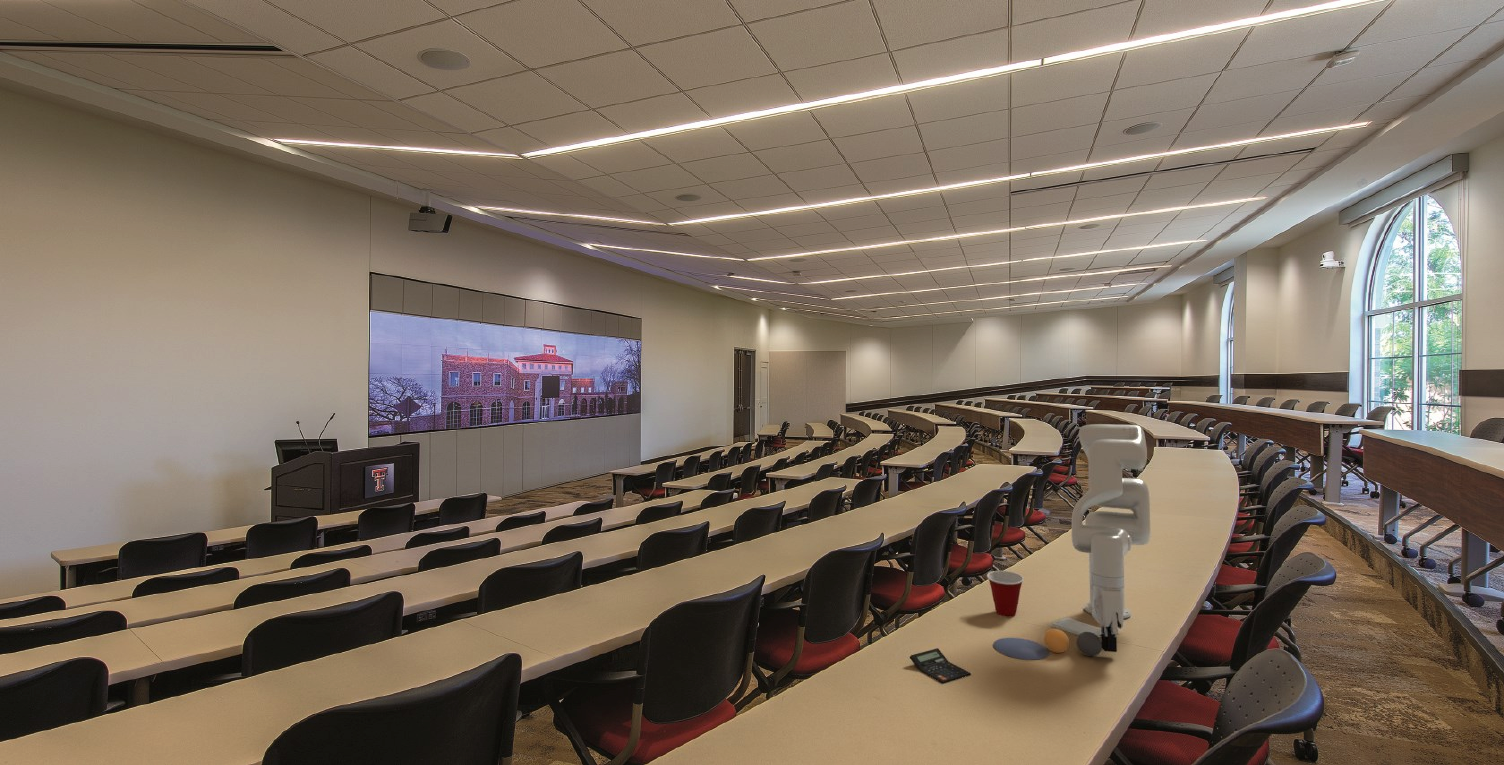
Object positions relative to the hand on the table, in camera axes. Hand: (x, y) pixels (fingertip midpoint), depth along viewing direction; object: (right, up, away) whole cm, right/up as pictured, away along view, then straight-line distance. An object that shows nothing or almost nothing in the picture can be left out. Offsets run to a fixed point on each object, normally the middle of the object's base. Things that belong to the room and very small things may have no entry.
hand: (1109, 650), depth 163 cm
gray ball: (-5, +1, +1) cm, 5 cm away
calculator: (-47, -3, -7) cm, 47 cm away
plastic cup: (-14, -2, +32) cm, 35 cm away
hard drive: (+2, -3, +18) cm, 19 cm away
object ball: (-12, +1, +3) cm, 13 cm away
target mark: (-21, -2, +5) cm, 22 cm away
